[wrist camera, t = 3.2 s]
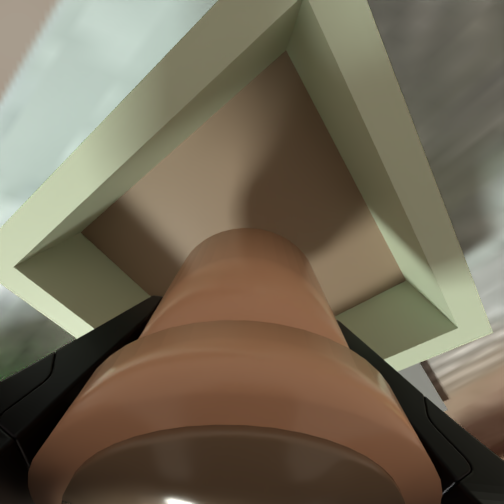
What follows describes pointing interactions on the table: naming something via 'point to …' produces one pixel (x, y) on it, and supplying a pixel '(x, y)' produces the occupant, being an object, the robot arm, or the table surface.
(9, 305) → the table surface
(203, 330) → the terracotta pot
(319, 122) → the pale green square tray
